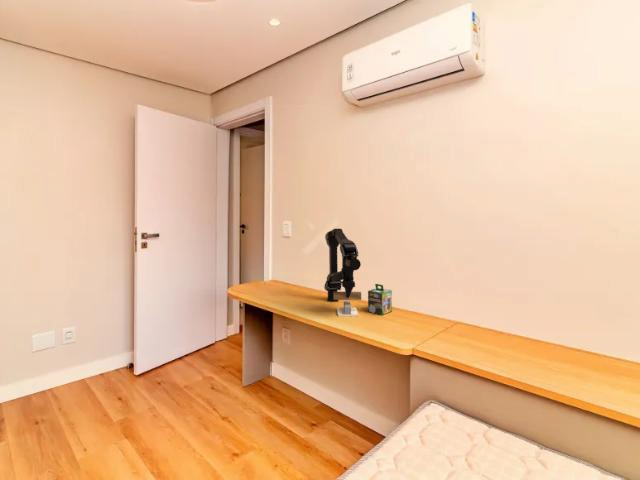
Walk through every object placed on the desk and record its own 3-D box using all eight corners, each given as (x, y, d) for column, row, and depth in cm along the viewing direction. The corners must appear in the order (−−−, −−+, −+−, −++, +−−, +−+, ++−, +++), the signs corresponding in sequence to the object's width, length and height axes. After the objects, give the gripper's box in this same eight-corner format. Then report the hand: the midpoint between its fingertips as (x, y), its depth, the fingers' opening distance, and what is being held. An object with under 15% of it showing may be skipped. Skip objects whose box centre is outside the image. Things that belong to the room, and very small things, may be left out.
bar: (333, 298, 183) (333, 291, 182) (360, 298, 182) (360, 291, 182) (333, 299, 179) (333, 293, 179) (361, 300, 179) (361, 293, 179)
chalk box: (392, 311, 183) (392, 283, 182) (382, 315, 177) (382, 286, 175) (377, 308, 190) (378, 281, 188) (367, 311, 183) (367, 283, 182)
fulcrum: (337, 309, 188) (337, 300, 187) (355, 309, 187) (356, 301, 187) (337, 316, 176) (338, 307, 175) (358, 316, 175) (358, 307, 175)
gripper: (331, 263, 189) (331, 292, 190) (332, 270, 170) (332, 301, 172) (352, 263, 189) (351, 292, 190) (355, 270, 170) (354, 302, 171)
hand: (347, 296), depth 181 cm, fingers closed on bar, 3 cm apart
